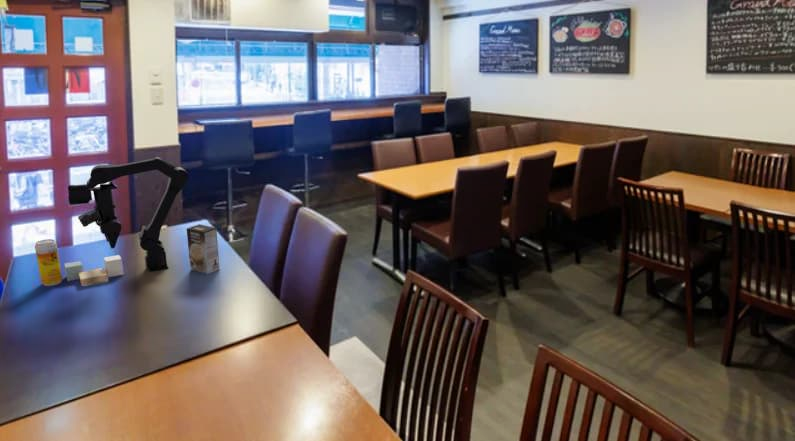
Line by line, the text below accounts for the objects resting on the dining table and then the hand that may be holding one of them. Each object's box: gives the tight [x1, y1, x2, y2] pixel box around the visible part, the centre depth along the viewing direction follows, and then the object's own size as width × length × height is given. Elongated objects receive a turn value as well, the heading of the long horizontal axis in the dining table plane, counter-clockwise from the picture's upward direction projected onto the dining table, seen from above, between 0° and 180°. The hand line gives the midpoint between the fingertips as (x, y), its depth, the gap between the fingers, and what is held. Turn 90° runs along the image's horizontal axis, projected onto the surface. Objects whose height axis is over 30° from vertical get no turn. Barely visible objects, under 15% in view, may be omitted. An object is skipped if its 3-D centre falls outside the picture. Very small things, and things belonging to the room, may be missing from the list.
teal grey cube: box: [64, 260, 84, 282], centre depth 189 cm, size 5×5×5 cm
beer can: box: [34, 239, 63, 287], centre depth 182 cm, size 6×6×15 cm
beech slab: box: [78, 267, 109, 287], centre depth 187 cm, size 8×8×3 cm
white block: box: [103, 254, 125, 278], centre depth 193 cm, size 5×5×6 cm
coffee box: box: [186, 224, 221, 275], centre depth 196 cm, size 9×6×16 cm
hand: (110, 244), depth 190 cm, fingers open, 9 cm apart
